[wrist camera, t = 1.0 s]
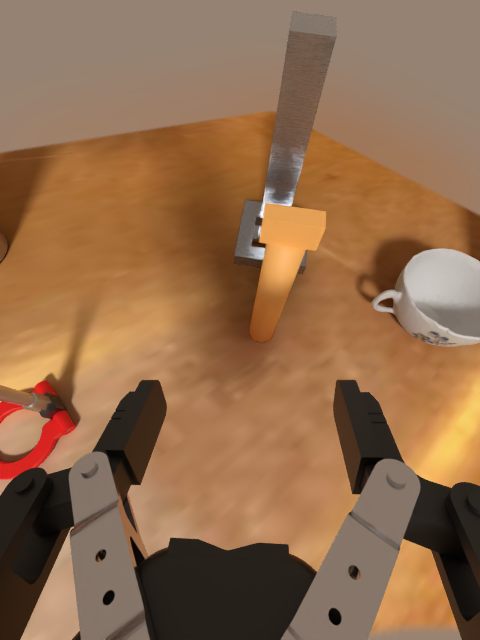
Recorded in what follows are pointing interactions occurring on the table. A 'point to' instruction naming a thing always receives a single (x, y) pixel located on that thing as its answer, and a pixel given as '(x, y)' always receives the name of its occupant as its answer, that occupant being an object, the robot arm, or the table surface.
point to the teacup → (438, 298)
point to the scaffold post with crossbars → (290, 125)
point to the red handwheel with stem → (60, 425)
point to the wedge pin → (282, 261)
